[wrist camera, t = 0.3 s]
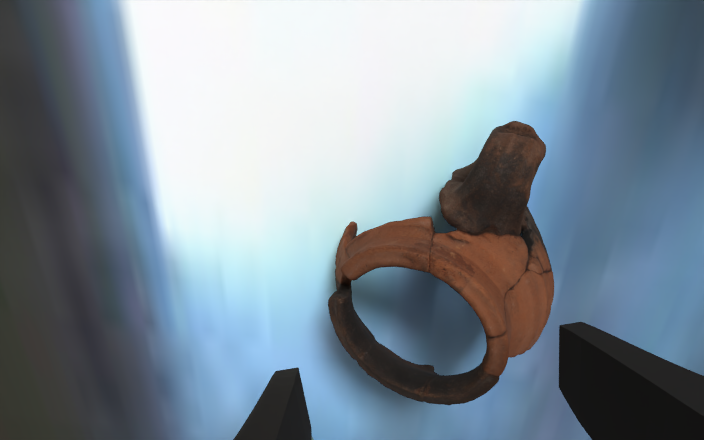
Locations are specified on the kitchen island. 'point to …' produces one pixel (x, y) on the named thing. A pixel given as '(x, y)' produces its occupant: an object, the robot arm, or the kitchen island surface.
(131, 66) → the kitchen island surface
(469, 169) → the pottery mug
